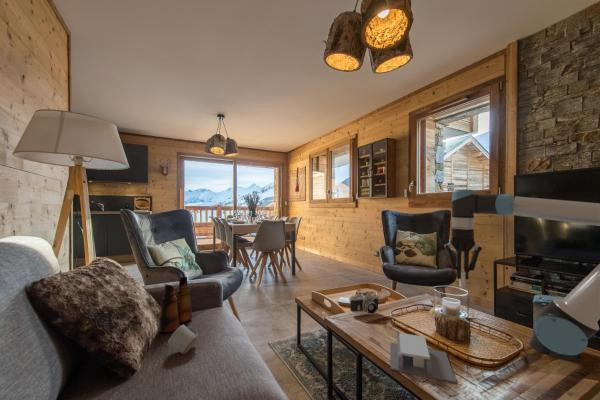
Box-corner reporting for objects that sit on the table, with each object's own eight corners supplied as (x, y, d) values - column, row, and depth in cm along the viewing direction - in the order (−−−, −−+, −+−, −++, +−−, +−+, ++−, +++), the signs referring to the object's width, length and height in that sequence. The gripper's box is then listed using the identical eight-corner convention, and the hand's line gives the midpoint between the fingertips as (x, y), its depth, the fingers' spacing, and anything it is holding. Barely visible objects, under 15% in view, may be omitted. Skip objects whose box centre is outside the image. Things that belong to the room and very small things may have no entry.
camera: (355, 316, 130) (355, 296, 130) (348, 309, 138) (348, 290, 138) (383, 313, 133) (383, 294, 133) (375, 306, 142) (375, 288, 142)
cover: (424, 338, 100) (424, 336, 100) (429, 359, 86) (429, 357, 86) (399, 334, 103) (399, 332, 103) (400, 354, 89) (400, 352, 89)
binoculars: (181, 313, 132) (181, 274, 132) (195, 315, 130) (195, 275, 130) (154, 331, 114) (154, 286, 114) (170, 333, 112) (171, 288, 112)
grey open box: (445, 353, 98) (445, 338, 98) (456, 383, 82) (456, 364, 82) (390, 343, 105) (390, 329, 105) (390, 369, 89) (390, 352, 89)
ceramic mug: (182, 359, 97) (186, 349, 93) (165, 346, 98) (169, 335, 94) (201, 336, 106) (206, 326, 102) (186, 324, 107) (189, 314, 103)
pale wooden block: (420, 353, 98) (420, 344, 98) (423, 367, 89) (423, 358, 89) (411, 351, 99) (411, 342, 99) (413, 365, 90) (413, 356, 90)
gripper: (478, 227, 104) (478, 286, 104) (442, 226, 108) (442, 282, 108) (485, 229, 97) (484, 292, 97) (446, 228, 101) (445, 288, 101)
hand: (462, 287), depth 102 cm, fingers closed
